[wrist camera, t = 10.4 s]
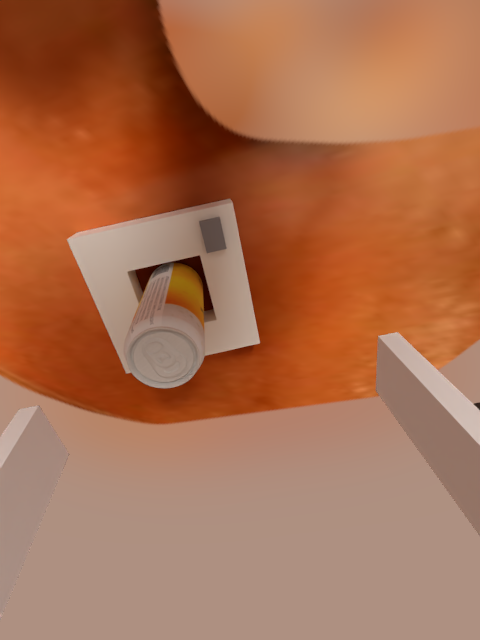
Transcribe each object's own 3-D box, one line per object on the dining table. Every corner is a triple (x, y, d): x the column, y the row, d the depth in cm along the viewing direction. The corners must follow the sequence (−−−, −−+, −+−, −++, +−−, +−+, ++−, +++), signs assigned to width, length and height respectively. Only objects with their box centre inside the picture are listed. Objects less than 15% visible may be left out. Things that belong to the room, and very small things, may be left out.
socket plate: (77, 232, 34) (63, 241, 30) (229, 198, 34) (233, 203, 31) (131, 359, 41) (124, 377, 38) (256, 331, 41) (261, 346, 38)
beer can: (170, 319, 39) (156, 405, 26) (137, 279, 37) (102, 351, 23) (213, 293, 38) (220, 367, 25) (182, 249, 36) (172, 307, 22)
